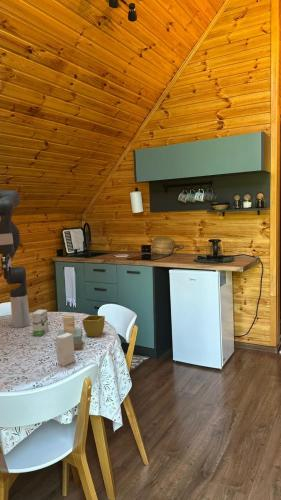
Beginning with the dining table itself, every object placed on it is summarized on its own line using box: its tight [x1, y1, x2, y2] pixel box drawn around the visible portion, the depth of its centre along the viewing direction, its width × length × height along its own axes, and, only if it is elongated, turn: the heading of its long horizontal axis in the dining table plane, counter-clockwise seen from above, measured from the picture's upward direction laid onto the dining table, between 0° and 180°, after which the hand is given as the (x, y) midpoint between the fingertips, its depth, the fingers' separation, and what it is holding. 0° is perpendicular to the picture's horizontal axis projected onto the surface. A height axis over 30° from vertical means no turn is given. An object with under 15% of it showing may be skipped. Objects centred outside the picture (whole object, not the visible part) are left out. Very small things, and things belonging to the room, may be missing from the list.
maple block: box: [62, 314, 76, 334], centre depth 176 cm, size 5×5×8 cm
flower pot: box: [81, 314, 106, 338], centre depth 191 cm, size 9×9×9 cm
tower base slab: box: [74, 341, 84, 351], centre depth 177 cm, size 11×11×4 cm
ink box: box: [31, 309, 50, 337], centre depth 198 cm, size 9×5×12 cm, turn 168°
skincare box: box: [55, 333, 76, 367], centre depth 158 cm, size 6×4×12 cm
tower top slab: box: [56, 328, 84, 344], centre depth 177 cm, size 11×11×4 cm
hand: (7, 277), depth 180 cm, fingers open, 8 cm apart
